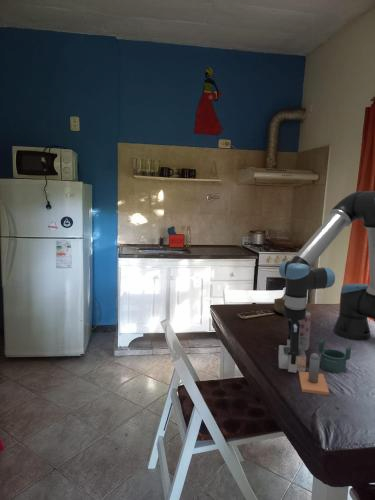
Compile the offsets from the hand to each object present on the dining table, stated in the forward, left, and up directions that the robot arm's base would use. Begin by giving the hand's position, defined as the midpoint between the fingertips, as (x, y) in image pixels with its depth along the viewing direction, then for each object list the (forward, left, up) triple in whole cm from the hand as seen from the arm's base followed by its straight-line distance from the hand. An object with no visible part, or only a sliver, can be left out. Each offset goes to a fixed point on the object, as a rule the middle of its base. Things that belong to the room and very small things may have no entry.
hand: (291, 363), depth 130 cm
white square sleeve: (0, 0, 0) cm, 0 cm away
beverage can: (-5, -16, 0) cm, 17 cm away
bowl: (-1, -63, 0) cm, 63 cm away
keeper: (-6, +13, 0) cm, 14 cm away
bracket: (-15, -1, 0) cm, 15 cm away
